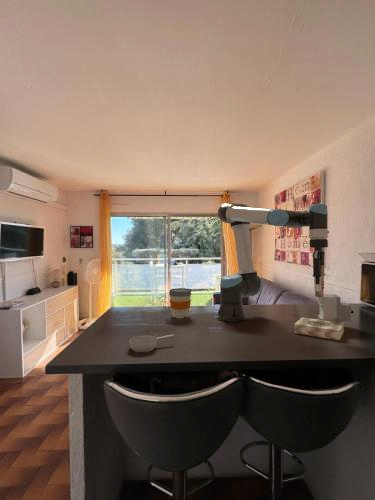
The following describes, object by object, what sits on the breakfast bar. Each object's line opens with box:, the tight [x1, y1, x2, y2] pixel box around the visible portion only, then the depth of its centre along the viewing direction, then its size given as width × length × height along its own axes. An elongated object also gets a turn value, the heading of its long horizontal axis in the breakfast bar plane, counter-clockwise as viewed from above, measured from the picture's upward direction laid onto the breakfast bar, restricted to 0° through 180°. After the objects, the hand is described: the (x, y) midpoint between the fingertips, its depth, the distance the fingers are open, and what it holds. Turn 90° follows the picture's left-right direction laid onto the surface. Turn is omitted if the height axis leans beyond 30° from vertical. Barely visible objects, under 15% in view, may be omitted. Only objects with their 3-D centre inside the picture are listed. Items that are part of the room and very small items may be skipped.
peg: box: [313, 264, 325, 298], centre depth 126 cm, size 4×4×14 cm
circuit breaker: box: [317, 293, 354, 323], centre depth 134 cm, size 8×14×15 cm, turn 78°
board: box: [293, 317, 345, 341], centre depth 126 cm, size 18×14×4 cm
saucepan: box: [128, 333, 175, 353], centre depth 110 cm, size 11×18×4 cm, turn 113°
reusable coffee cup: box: [168, 287, 192, 319], centre depth 158 cm, size 13×13×15 cm
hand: (319, 290), depth 126 cm, fingers closed on peg, 4 cm apart
